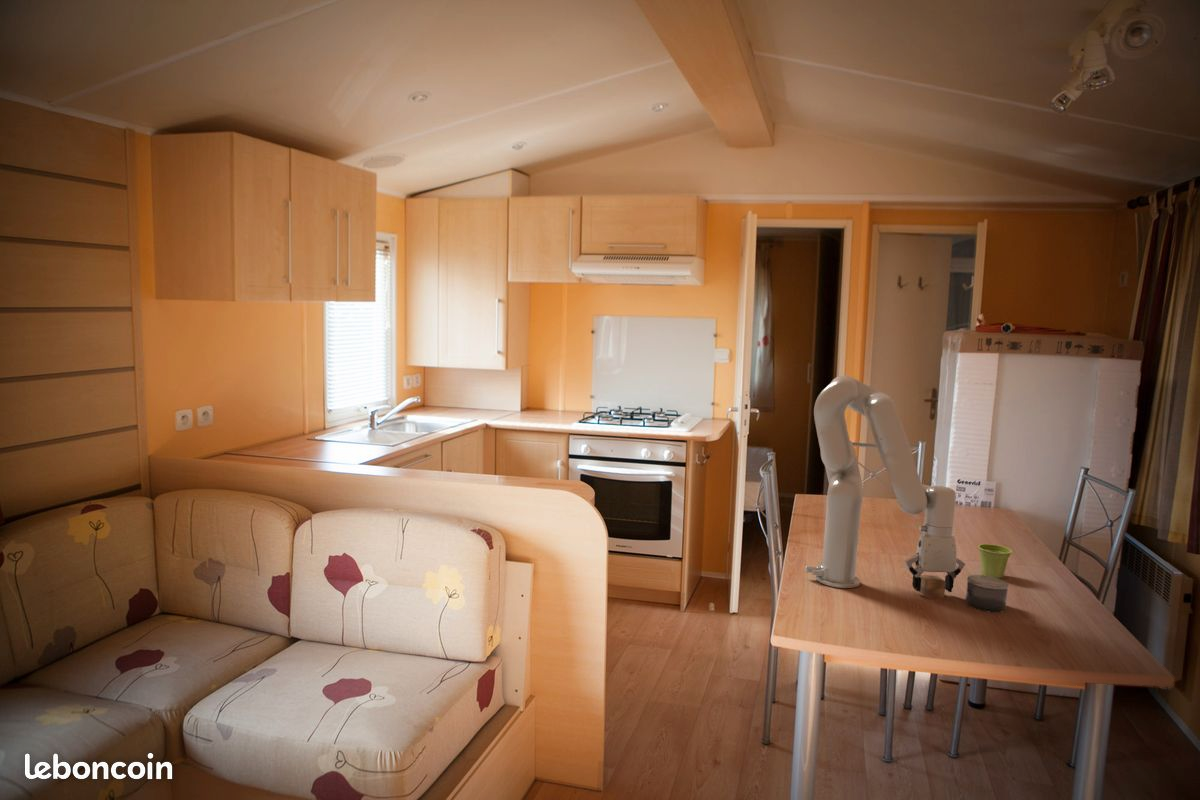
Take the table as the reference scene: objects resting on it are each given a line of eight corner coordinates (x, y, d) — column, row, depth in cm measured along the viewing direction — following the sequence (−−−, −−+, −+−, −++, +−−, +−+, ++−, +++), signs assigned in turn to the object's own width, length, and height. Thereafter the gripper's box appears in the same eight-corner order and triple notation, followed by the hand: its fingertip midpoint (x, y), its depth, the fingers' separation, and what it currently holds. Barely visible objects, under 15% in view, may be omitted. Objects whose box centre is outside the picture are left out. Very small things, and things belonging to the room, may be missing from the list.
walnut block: (926, 598, 227) (928, 581, 226) (918, 591, 232) (920, 575, 231) (943, 598, 227) (945, 581, 227) (935, 592, 232) (937, 575, 231)
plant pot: (990, 581, 244) (993, 553, 243) (968, 571, 253) (971, 544, 252) (1016, 580, 246) (1019, 552, 245) (993, 569, 255) (996, 543, 254)
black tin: (976, 612, 218) (979, 587, 217) (958, 598, 228) (960, 574, 227) (1013, 613, 218) (1016, 588, 217) (993, 599, 228) (996, 575, 228)
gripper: (913, 533, 223) (907, 594, 225) (974, 535, 224) (968, 595, 226) (902, 526, 230) (896, 584, 233) (961, 527, 231) (955, 586, 233)
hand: (932, 589), depth 229 cm, fingers open, 8 cm apart
